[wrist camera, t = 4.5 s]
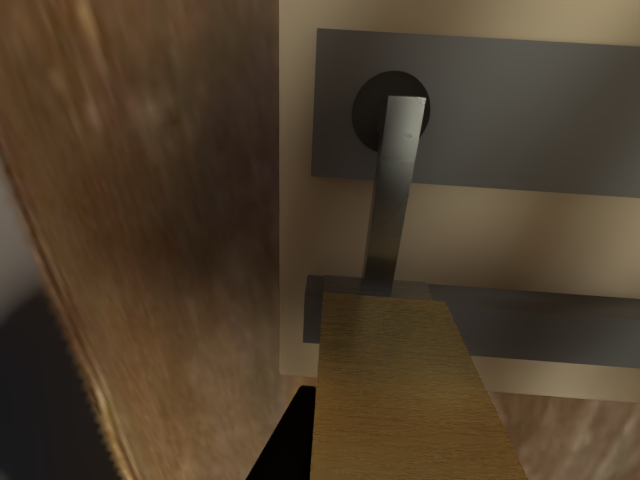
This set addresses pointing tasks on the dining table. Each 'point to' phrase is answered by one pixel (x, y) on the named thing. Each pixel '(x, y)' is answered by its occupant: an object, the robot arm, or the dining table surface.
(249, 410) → the dining table surface
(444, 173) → the board with grey bars
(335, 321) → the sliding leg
